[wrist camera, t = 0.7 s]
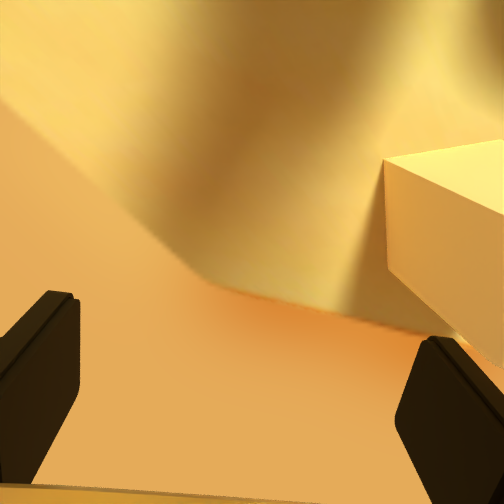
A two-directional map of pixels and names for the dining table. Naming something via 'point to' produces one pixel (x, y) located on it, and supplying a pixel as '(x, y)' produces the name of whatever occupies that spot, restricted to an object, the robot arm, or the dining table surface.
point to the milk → (451, 237)
